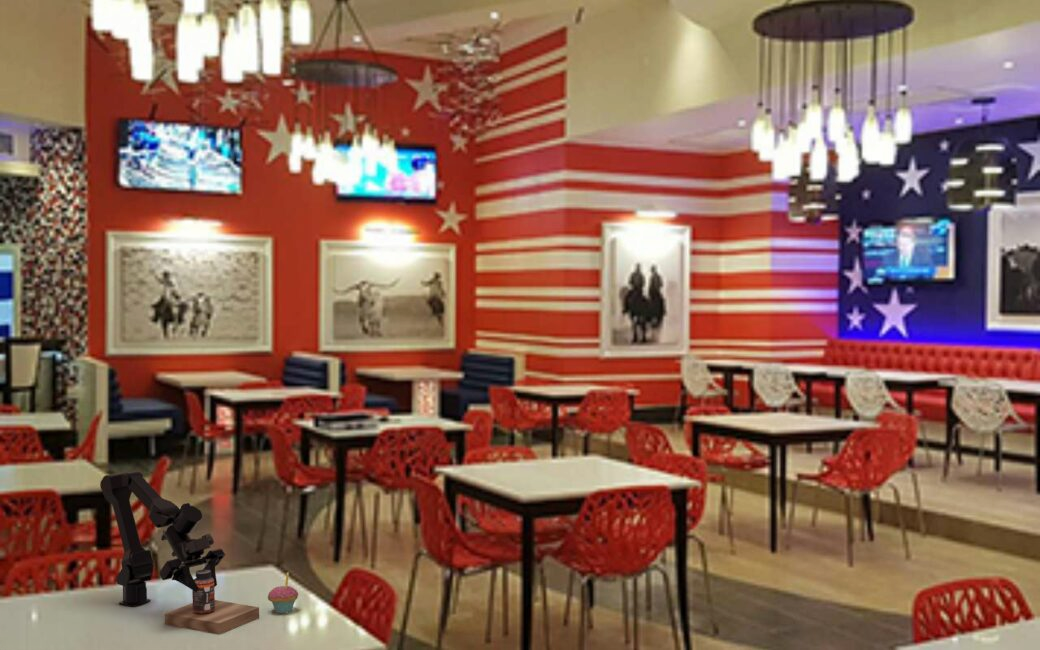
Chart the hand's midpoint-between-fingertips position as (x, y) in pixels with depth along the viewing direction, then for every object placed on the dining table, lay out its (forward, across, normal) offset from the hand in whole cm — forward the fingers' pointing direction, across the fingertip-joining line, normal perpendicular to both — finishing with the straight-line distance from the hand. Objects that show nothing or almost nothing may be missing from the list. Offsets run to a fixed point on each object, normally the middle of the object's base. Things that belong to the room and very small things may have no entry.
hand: (206, 588), depth 298 cm
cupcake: (+13, +20, +1) cm, 24 cm away
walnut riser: (+7, +2, +7) cm, 10 cm away
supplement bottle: (+4, 0, +6) cm, 7 cm away
